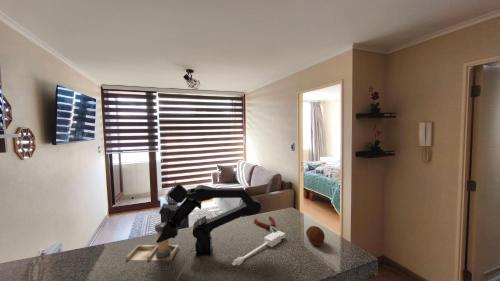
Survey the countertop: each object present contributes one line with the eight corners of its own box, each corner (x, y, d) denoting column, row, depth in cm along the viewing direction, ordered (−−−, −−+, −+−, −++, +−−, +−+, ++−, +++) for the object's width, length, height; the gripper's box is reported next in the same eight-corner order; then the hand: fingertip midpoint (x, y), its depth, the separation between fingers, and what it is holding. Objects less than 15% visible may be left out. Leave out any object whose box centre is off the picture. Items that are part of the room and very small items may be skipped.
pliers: (267, 238, 111) (266, 233, 110) (253, 222, 130) (253, 218, 129) (287, 234, 114) (287, 229, 114) (270, 219, 133) (270, 215, 133)
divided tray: (178, 250, 100) (178, 244, 100) (171, 262, 91) (171, 255, 91) (137, 250, 100) (137, 244, 100) (126, 262, 91) (125, 255, 91)
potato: (315, 235, 112) (315, 220, 111) (330, 247, 101) (330, 230, 100) (302, 237, 110) (302, 222, 109) (315, 250, 99) (315, 232, 98)
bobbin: (172, 250, 98) (171, 222, 97) (168, 258, 92) (167, 228, 91) (159, 251, 98) (157, 222, 97) (153, 259, 92) (152, 228, 91)
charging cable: (229, 265, 90) (228, 258, 90) (277, 234, 113) (277, 228, 112) (237, 271, 87) (236, 263, 86) (285, 238, 109) (285, 231, 109)
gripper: (173, 191, 103) (149, 216, 102) (167, 205, 85) (137, 236, 84) (191, 206, 105) (168, 231, 104) (188, 222, 87) (160, 253, 86)
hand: (159, 236), depth 94 cm, fingers open, 9 cm apart
